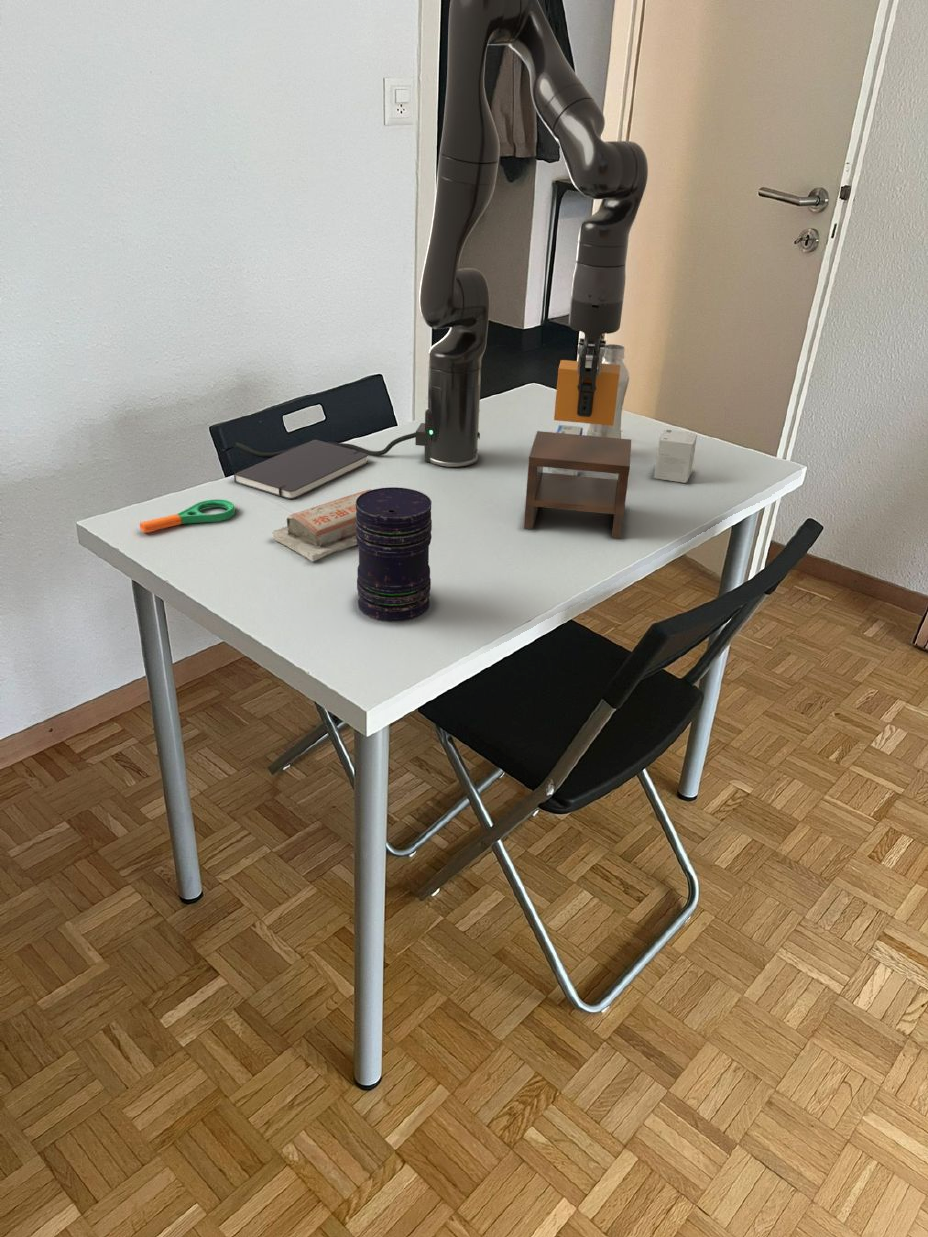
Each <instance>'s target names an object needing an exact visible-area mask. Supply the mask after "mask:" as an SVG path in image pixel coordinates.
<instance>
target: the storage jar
mask: <svg viewBox="0 0 928 1237" xmlns="http://www.w3.org/2000/svg"><path fill="white" fill-rule="evenodd" d="M369 490H370V491H367V492H365V493H363V494H361V495H360V496H359V497H358V498H357V500H356V510H357V511H356V532H357V533H356V539H357V544H358V566H357V571H356V572H357V578H356V589H357V596H358V599H357V600H358V601H357V605H358V610H359V611H360V612H361V613H362V614H363V615H364V616H366V617H368V618H370V619H372V620H375V621H379V622H386V623H402V622H408V621H412V620H415V619H418V618H420V617H422V616H423V615H425V614H426V613H427V612H428V610H429V609H430V602H431V601H430V594H431V588H432V587H431V585H432V580H431V567H430V562H429V559H430V558H429V557H430V556H429V555H430V545H431V541H432V530H433V529H432V528H433V527H432V526H433V520H432V500H431V498H430V497H429V496H428V495H427V494H425V493H424V492H421V491H420V490H416V489H412V488H407V487H394V486H393V487H392V486H391V487H379V488H375V489H374V488H373V489H369Z"/></svg>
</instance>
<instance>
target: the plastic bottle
mask: <svg viewBox="0 0 928 1237" xmlns="http://www.w3.org/2000/svg"><path fill="white" fill-rule="evenodd" d="M625 351H626V350H625V346H624V345H621V344H614V343H611V344H610V343H609V344H608V343H607V344H606V347H605V353H604V356H603V359H602V363H603V364H615V365H621V366H620V375H619V383H618V392H617V400H616V408H615V416H614V424H613V426H610V425H600V424H589V427H588V429H587V432H586V435H587V436H598V437H609V438H620V439H622V413H623V406H624V402H625V397H626V394H627V390H628V386H629V383H630V372H629V370H628V368H627V366H626V364H625V362H623V360H624V359H625Z"/></svg>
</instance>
